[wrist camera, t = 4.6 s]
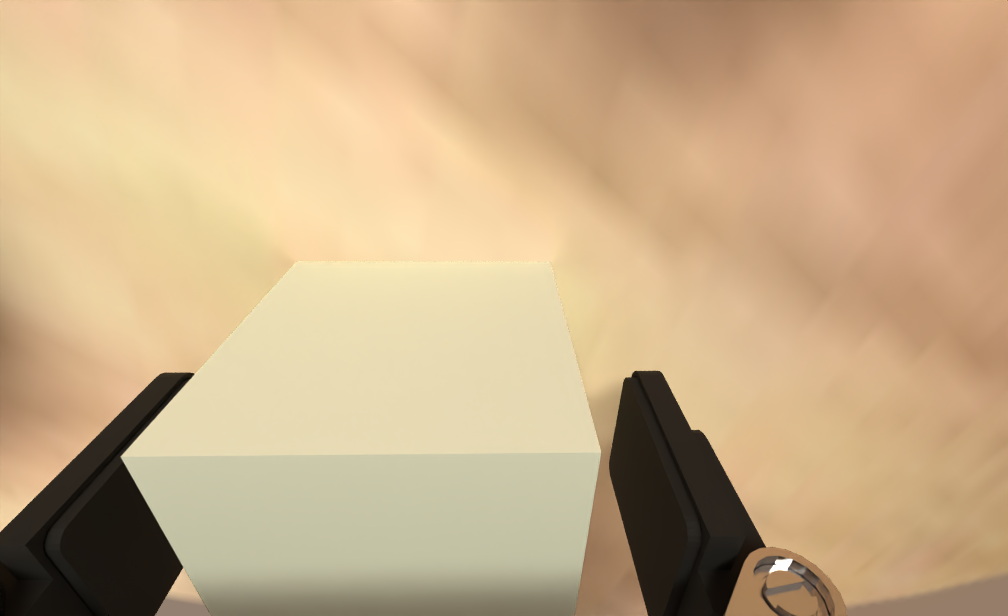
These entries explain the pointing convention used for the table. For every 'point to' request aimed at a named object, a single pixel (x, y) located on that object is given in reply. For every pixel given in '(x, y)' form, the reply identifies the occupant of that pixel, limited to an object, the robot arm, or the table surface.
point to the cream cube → (382, 448)
